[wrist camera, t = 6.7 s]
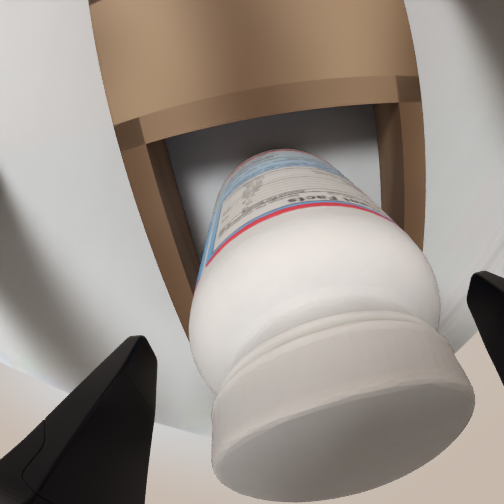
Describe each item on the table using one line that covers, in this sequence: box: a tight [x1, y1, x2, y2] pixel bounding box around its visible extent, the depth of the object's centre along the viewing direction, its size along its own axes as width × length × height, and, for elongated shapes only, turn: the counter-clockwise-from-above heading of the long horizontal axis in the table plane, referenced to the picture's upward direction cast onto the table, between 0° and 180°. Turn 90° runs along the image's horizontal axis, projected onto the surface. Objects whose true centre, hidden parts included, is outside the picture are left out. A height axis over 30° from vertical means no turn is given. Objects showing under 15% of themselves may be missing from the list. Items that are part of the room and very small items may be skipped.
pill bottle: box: [189, 149, 475, 502], centre depth 9 cm, size 6×6×11 cm
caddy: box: [88, 0, 426, 342], centre depth 9 cm, size 11×27×2 cm, turn 11°
